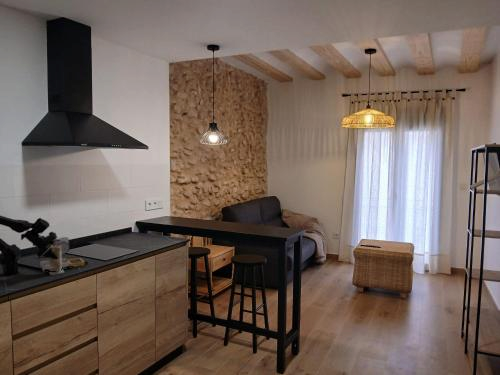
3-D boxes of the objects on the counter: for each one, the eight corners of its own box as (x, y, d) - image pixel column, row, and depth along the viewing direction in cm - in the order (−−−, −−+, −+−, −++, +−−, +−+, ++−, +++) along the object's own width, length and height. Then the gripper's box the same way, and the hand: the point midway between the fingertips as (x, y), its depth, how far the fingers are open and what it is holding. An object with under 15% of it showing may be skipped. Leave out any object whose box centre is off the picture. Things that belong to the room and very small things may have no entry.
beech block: (50, 271, 211) (49, 247, 210) (52, 268, 216) (51, 245, 215) (59, 270, 212) (59, 247, 211) (61, 268, 217) (61, 245, 216)
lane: (42, 271, 215) (42, 266, 215) (40, 266, 223) (40, 261, 223) (69, 267, 223) (68, 262, 223) (65, 263, 231) (65, 258, 231)
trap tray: (70, 267, 223) (69, 264, 223) (66, 263, 231) (66, 259, 231) (84, 265, 228) (84, 262, 228) (80, 261, 236) (80, 258, 236)
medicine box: (63, 249, 263) (63, 236, 262) (69, 249, 262) (68, 237, 261) (54, 252, 255) (54, 239, 255) (60, 252, 254) (59, 239, 253)
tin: (68, 252, 256) (68, 239, 255) (70, 253, 254) (70, 240, 253) (44, 256, 244) (44, 243, 243) (46, 257, 242) (46, 244, 241)
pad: (50, 275, 209) (50, 274, 209) (48, 271, 215) (48, 270, 215) (64, 272, 213) (64, 271, 213) (62, 269, 219) (62, 268, 219)
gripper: (42, 231, 202) (66, 251, 206) (51, 225, 220) (72, 243, 224) (26, 247, 200) (50, 266, 204) (36, 239, 218) (58, 257, 222)
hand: (58, 257), depth 214 cm, fingers closed on beech block, 5 cm apart
